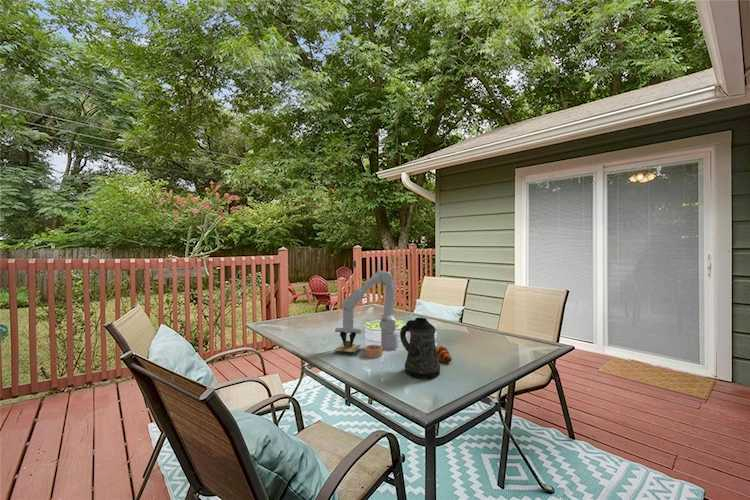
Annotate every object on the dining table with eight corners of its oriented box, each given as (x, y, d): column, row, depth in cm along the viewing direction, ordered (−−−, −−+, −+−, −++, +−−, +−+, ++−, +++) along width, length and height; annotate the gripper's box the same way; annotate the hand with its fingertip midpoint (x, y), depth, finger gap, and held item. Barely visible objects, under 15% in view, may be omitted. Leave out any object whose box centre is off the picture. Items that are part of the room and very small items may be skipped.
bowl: (383, 354, 184) (383, 345, 184) (379, 359, 175) (380, 350, 175) (367, 352, 186) (367, 344, 186) (363, 357, 177) (363, 349, 177)
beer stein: (440, 381, 149) (440, 324, 148) (395, 377, 153) (396, 321, 152) (440, 367, 165) (441, 316, 164) (400, 364, 169) (401, 314, 168)
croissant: (423, 358, 188) (417, 346, 186) (437, 348, 191) (431, 336, 190) (446, 371, 168) (440, 358, 167) (461, 359, 172) (455, 346, 170)
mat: (362, 349, 191) (362, 348, 191) (355, 357, 178) (355, 356, 178) (340, 347, 194) (340, 346, 194) (332, 355, 182) (332, 354, 182)
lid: (360, 346, 190) (360, 339, 190) (354, 352, 180) (354, 345, 179) (342, 344, 193) (342, 338, 193) (335, 350, 182) (335, 343, 182)
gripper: (333, 322, 184) (333, 347, 184) (358, 323, 180) (358, 349, 181) (337, 319, 191) (337, 343, 191) (362, 320, 187) (362, 345, 187)
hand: (348, 345), depth 186 cm, fingers closed on lid, 3 cm apart
